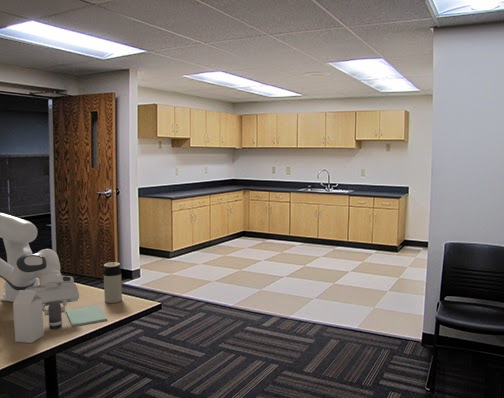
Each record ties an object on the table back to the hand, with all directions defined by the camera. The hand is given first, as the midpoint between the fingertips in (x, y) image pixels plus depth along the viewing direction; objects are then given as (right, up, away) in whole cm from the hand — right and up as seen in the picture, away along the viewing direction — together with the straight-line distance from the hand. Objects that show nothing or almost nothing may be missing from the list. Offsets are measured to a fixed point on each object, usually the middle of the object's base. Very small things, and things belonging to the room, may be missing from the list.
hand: (55, 313), depth 187 cm
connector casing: (0, -6, +1) cm, 6 cm away
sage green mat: (+8, -5, +13) cm, 16 cm away
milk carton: (-5, -7, -11) cm, 14 cm away
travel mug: (+14, -3, +33) cm, 36 cm away
